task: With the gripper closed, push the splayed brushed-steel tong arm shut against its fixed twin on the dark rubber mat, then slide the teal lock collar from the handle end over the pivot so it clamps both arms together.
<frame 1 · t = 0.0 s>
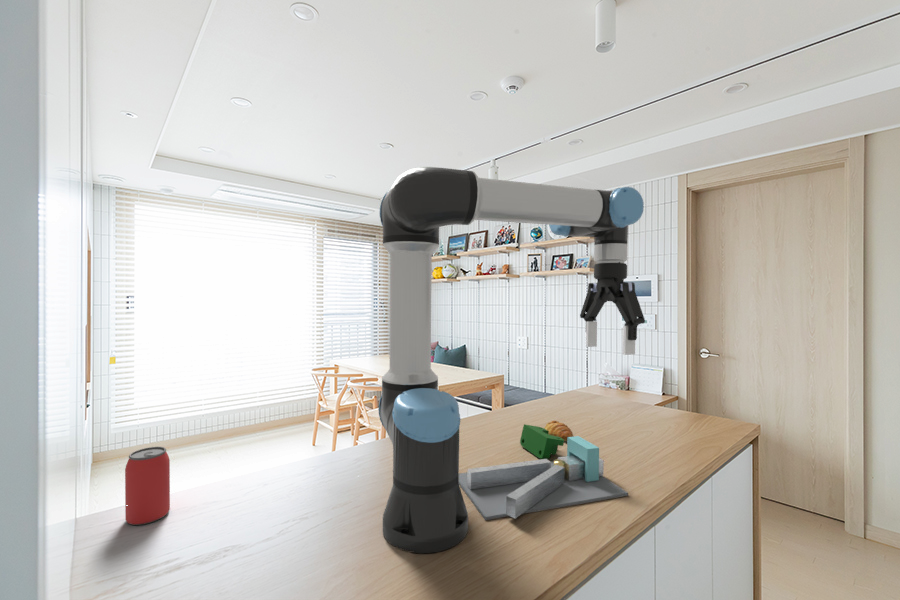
hand: (608, 350, 100), 28 cm above the counter, fingers open, 13 cm apart
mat: (559, 480, 92), on the counter
clamp: (541, 452, 109), on the counter
lock collar: (582, 458, 94), point 4 cm above the counter, slide at 0.0 cm
tongs body: (537, 472, 90), on the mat, point 2 cm above the counter
beer can: (148, 517, 76), on the counter
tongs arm: (537, 489, 82), point 3 cm above the counter, hinge at 30.0°
pastry: (559, 437, 121), on the counter
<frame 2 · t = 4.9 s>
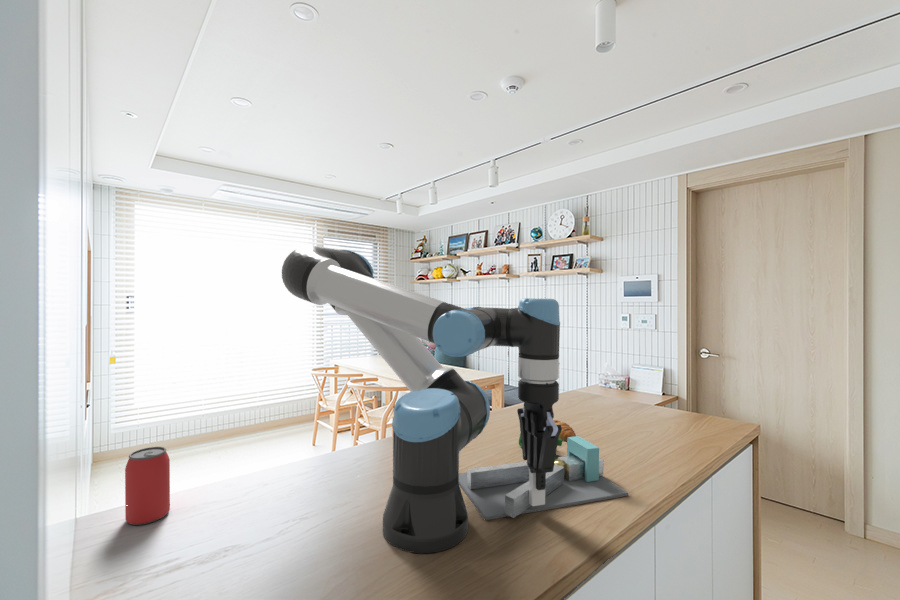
hand: (536, 503, 78), 2 cm above the counter, fingers closed
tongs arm: (536, 488, 83), point 3 cm above the counter, hinge at 29.1°, touching gripper
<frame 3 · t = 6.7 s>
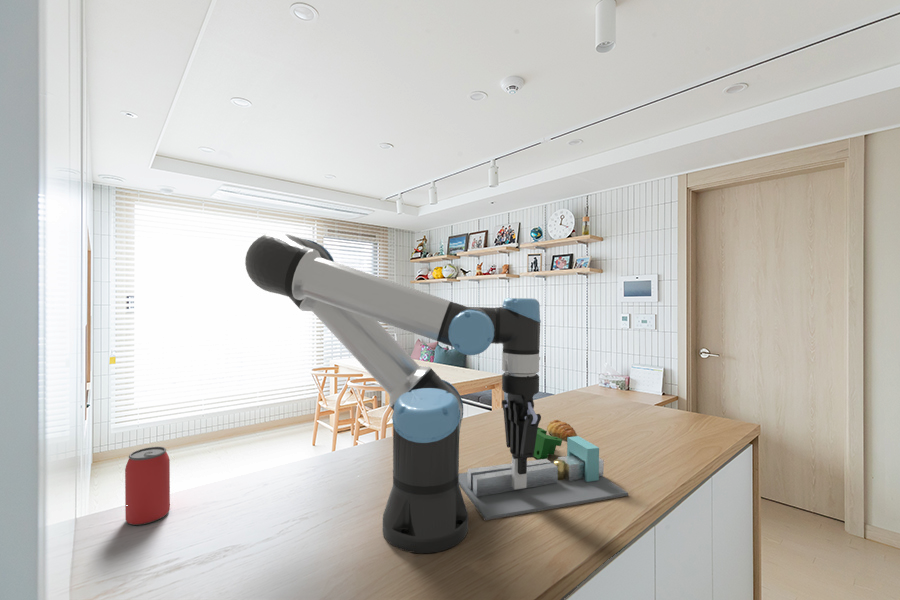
hand: (518, 486, 85), 2 cm above the counter, fingers closed
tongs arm: (516, 479, 87), point 3 cm above the counter, hinge at 2.2°, touching gripper
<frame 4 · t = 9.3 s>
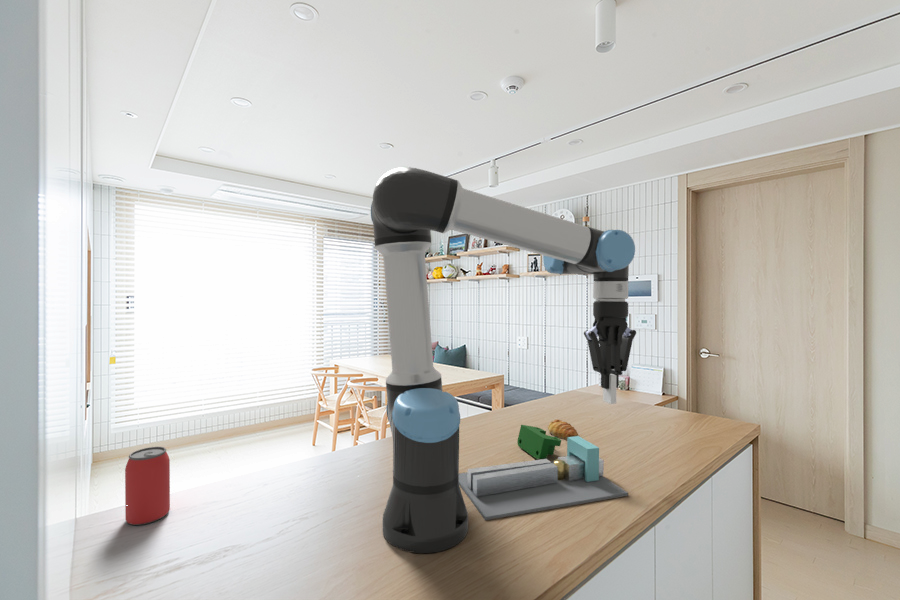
hand: (609, 402, 95), 17 cm above the counter, fingers closed
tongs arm: (516, 479, 87), point 3 cm above the counter, hinge at 2.1°
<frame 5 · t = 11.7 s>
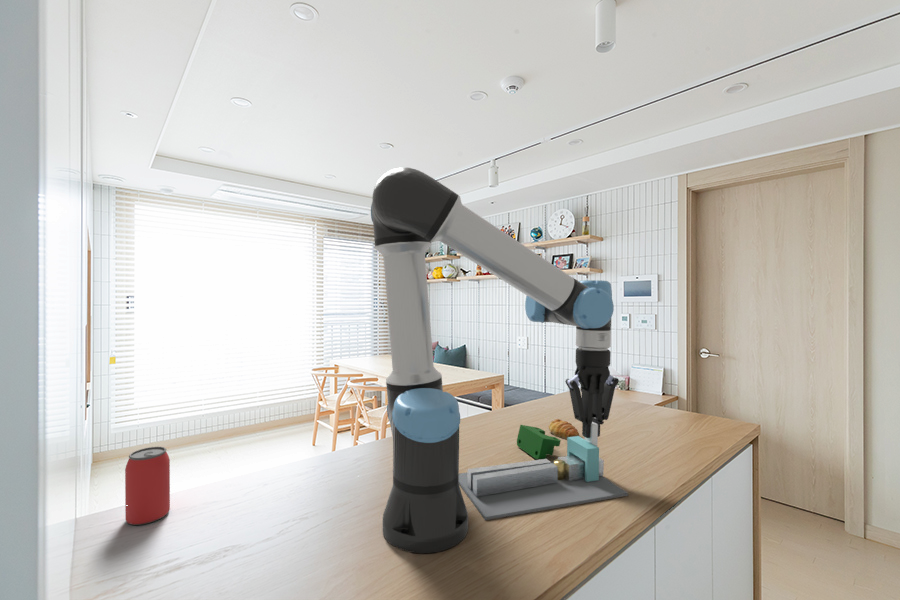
hand: (590, 450, 94), 6 cm above the counter, fingers closed
lock collar: (582, 458, 94), point 4 cm above the counter, slide at 0.0 cm, touching gripper
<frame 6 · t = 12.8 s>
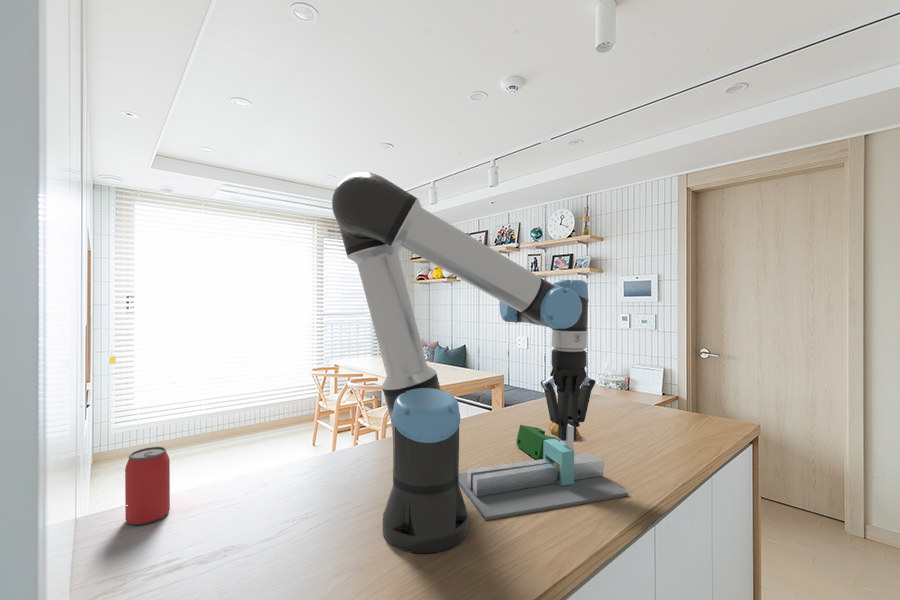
hand: (566, 453, 92), 6 cm above the counter, fingers closed
lock collar: (558, 461, 92), point 4 cm above the counter, slide at 6.4 cm, touching gripper
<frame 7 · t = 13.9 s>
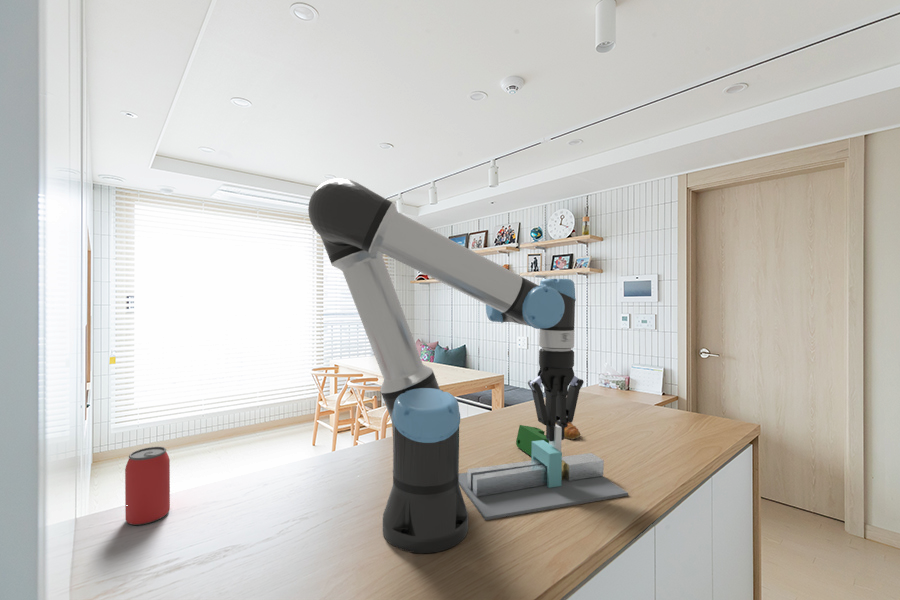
hand: (554, 454, 91), 6 cm above the counter, fingers closed
lock collar: (546, 462, 91), point 4 cm above the counter, slide at 9.4 cm, touching gripper
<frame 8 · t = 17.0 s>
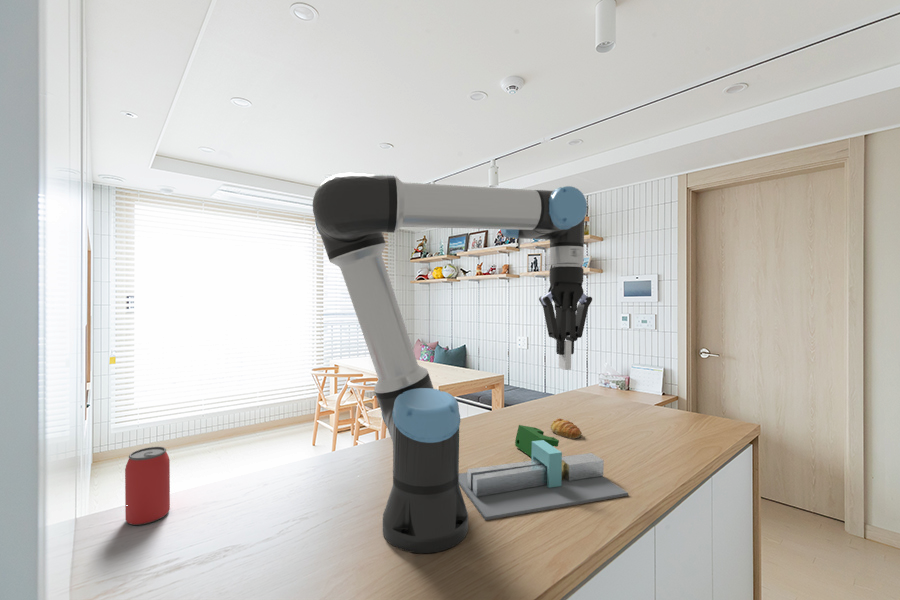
hand: (564, 368, 95), 24 cm above the counter, fingers closed
lock collar: (546, 462, 91), point 4 cm above the counter, slide at 9.4 cm
at the end: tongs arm at +2° (first picture: +30°); lock collar slide at 9.4 cm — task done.
